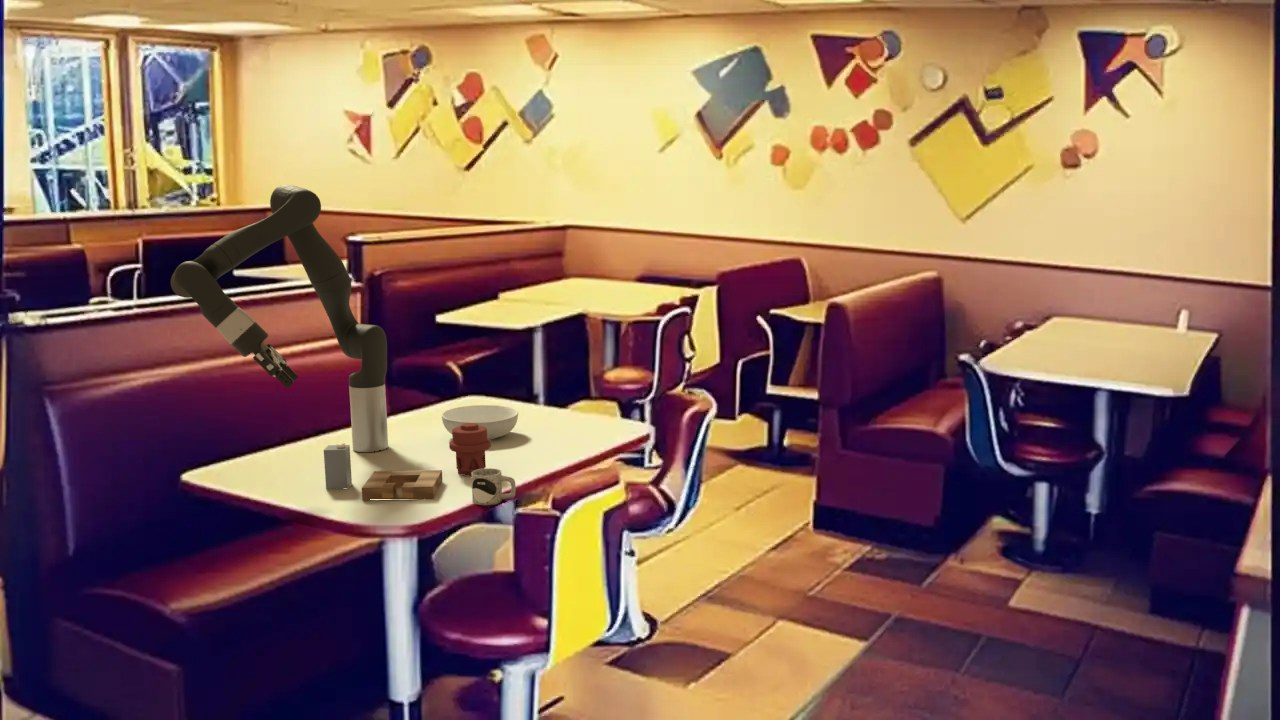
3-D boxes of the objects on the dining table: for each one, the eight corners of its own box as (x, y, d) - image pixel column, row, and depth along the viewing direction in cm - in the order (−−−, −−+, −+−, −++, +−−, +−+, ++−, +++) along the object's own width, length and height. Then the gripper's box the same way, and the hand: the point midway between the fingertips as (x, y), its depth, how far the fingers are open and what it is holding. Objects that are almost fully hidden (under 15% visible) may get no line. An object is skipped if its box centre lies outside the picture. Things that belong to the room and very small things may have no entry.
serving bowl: (441, 448, 311) (440, 422, 310) (444, 430, 332) (442, 406, 330) (519, 444, 314) (519, 419, 313) (517, 426, 334) (517, 403, 333)
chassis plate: (374, 483, 278) (374, 471, 277) (442, 482, 278) (441, 470, 278) (362, 500, 264) (361, 487, 264) (433, 499, 265) (432, 486, 264)
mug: (468, 504, 260) (467, 475, 259) (477, 496, 267) (476, 467, 266) (511, 506, 259) (510, 477, 258) (520, 497, 265) (519, 469, 264)
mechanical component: (442, 475, 285) (472, 466, 292) (470, 481, 278) (500, 472, 286) (439, 425, 282) (470, 418, 290) (468, 431, 276) (498, 423, 284)
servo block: (330, 484, 278) (328, 442, 276) (351, 483, 278) (349, 441, 276) (326, 489, 274) (323, 446, 272) (347, 489, 274) (345, 446, 272)
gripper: (249, 324, 262) (302, 375, 266) (258, 317, 276) (308, 367, 280) (224, 346, 262) (277, 398, 266) (235, 339, 276) (285, 388, 279)
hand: (293, 382), depth 273 cm, fingers open, 8 cm apart
